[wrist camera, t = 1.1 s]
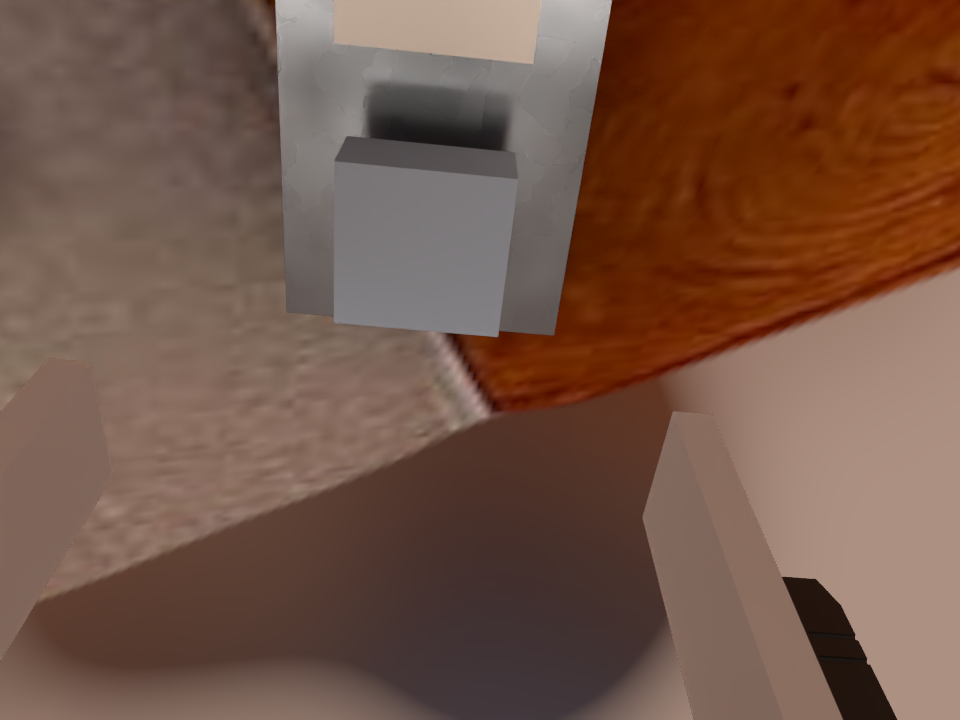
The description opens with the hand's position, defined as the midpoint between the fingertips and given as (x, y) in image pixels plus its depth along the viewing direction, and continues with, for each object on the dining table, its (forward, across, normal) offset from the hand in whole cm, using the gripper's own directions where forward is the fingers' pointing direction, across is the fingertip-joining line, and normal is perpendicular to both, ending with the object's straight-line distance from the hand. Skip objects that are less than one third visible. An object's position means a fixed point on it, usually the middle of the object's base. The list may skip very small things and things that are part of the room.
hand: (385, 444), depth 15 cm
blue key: (+14, 0, 0) cm, 14 cm away
